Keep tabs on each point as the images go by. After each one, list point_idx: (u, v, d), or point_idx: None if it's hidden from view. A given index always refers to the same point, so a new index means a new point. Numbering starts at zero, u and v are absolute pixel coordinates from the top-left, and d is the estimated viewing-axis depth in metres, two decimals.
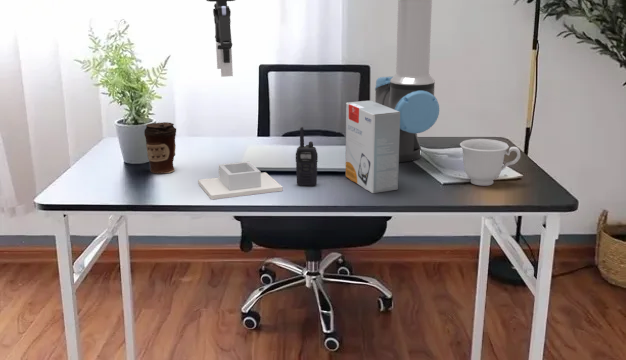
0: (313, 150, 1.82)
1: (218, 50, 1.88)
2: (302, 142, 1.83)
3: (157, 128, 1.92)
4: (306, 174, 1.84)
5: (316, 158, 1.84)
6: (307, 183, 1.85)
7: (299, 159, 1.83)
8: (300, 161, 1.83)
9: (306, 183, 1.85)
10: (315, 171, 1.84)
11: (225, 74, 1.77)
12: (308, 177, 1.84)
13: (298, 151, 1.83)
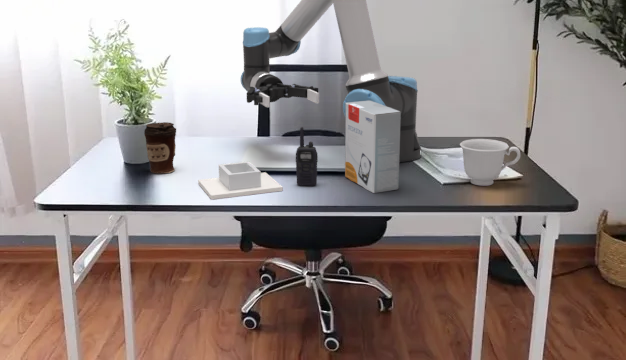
0: (313, 150, 1.82)
1: (309, 98, 1.96)
2: (302, 142, 1.83)
3: (157, 128, 1.92)
4: (306, 174, 1.84)
5: (316, 158, 1.84)
6: (307, 183, 1.85)
7: (299, 159, 1.83)
8: (300, 161, 1.83)
9: (306, 183, 1.85)
10: (315, 171, 1.84)
11: (266, 103, 1.88)
12: (308, 177, 1.84)
13: (298, 151, 1.83)
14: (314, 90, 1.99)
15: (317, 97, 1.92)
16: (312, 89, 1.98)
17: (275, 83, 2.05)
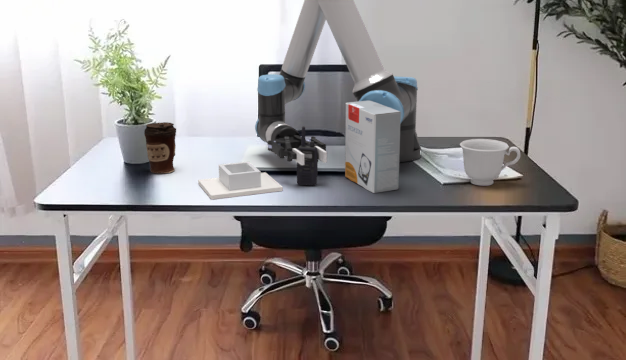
0: (314, 150, 1.82)
1: None
2: (303, 141, 1.83)
3: (157, 128, 1.92)
4: (306, 173, 1.84)
5: (317, 158, 1.84)
6: (307, 183, 1.85)
7: None
8: None
9: (306, 183, 1.85)
10: (315, 171, 1.84)
11: (300, 160, 1.79)
12: (308, 177, 1.84)
13: (299, 150, 1.83)
14: (321, 146, 1.88)
15: (325, 156, 1.81)
16: (319, 146, 1.87)
17: (291, 135, 1.97)
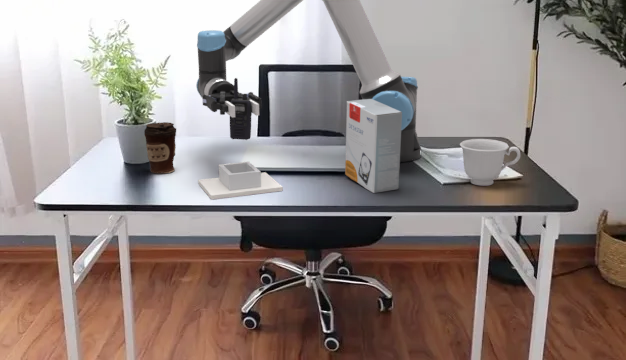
0: (247, 102, 1.77)
1: None
2: (236, 94, 1.77)
3: (157, 128, 1.92)
4: (239, 127, 1.79)
5: (250, 111, 1.78)
6: (240, 137, 1.79)
7: None
8: None
9: (239, 137, 1.79)
10: (249, 125, 1.79)
11: (231, 113, 1.74)
12: (241, 130, 1.79)
13: (231, 103, 1.78)
14: (256, 100, 1.83)
15: (257, 109, 1.76)
16: (253, 100, 1.81)
17: (229, 90, 1.92)
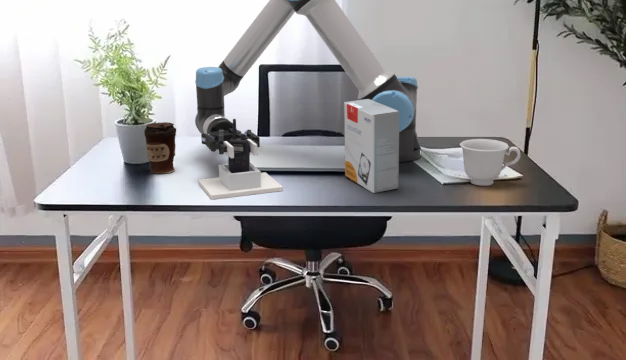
0: (245, 142, 1.80)
1: None
2: (234, 134, 1.80)
3: (157, 128, 1.92)
4: (237, 167, 1.81)
5: (248, 151, 1.81)
6: None
7: None
8: None
9: None
10: (247, 164, 1.81)
11: (230, 153, 1.76)
12: (240, 170, 1.81)
13: (230, 143, 1.80)
14: (254, 139, 1.86)
15: (255, 149, 1.78)
16: (251, 139, 1.84)
17: (227, 128, 1.94)
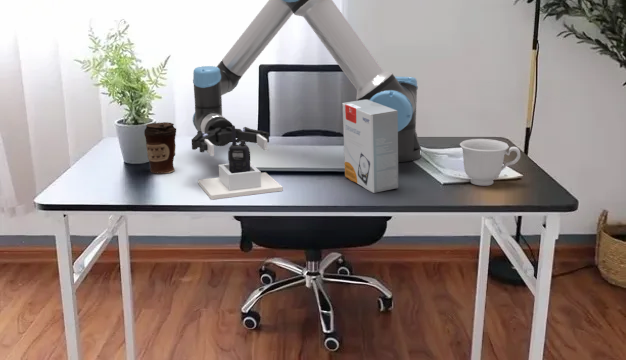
0: (245, 149, 1.80)
1: (259, 144, 1.87)
2: (234, 141, 1.80)
3: (157, 128, 1.92)
4: None
5: (248, 157, 1.81)
6: None
7: (231, 158, 1.81)
8: (232, 160, 1.81)
9: None
10: (248, 170, 1.82)
11: (210, 151, 1.78)
12: None
13: (230, 150, 1.80)
14: (264, 135, 1.90)
15: (265, 144, 1.83)
16: (262, 134, 1.89)
17: (225, 126, 1.96)
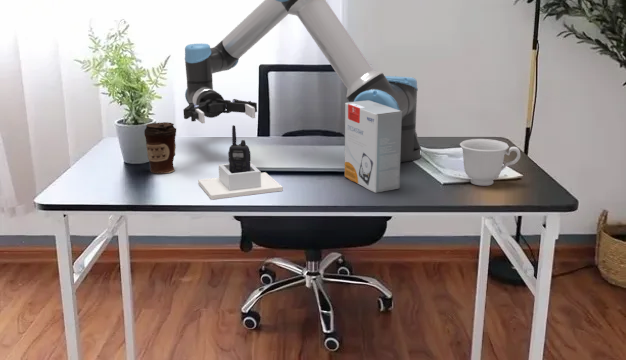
0: (245, 149, 1.80)
1: (247, 113, 1.98)
2: (234, 140, 1.80)
3: (157, 128, 1.92)
4: None
5: (249, 157, 1.81)
6: None
7: (231, 158, 1.81)
8: (233, 160, 1.81)
9: None
10: (248, 170, 1.82)
11: (201, 119, 1.89)
12: None
13: (230, 150, 1.80)
14: (252, 105, 2.01)
15: (253, 112, 1.94)
16: (250, 104, 2.00)
17: (215, 99, 2.07)
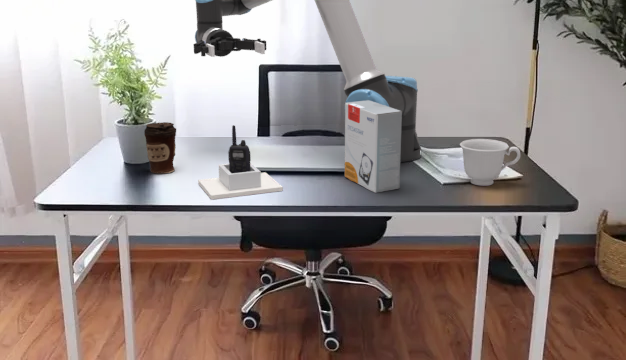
0: (245, 149, 1.80)
1: (256, 50, 1.99)
2: (234, 140, 1.80)
3: (157, 128, 1.92)
4: None
5: (249, 157, 1.81)
6: None
7: (231, 158, 1.81)
8: (233, 160, 1.81)
9: None
10: (248, 170, 1.82)
11: (211, 52, 1.91)
12: None
13: (230, 150, 1.80)
14: (262, 43, 2.02)
15: (263, 48, 1.95)
16: (259, 41, 2.01)
17: (225, 37, 2.08)
